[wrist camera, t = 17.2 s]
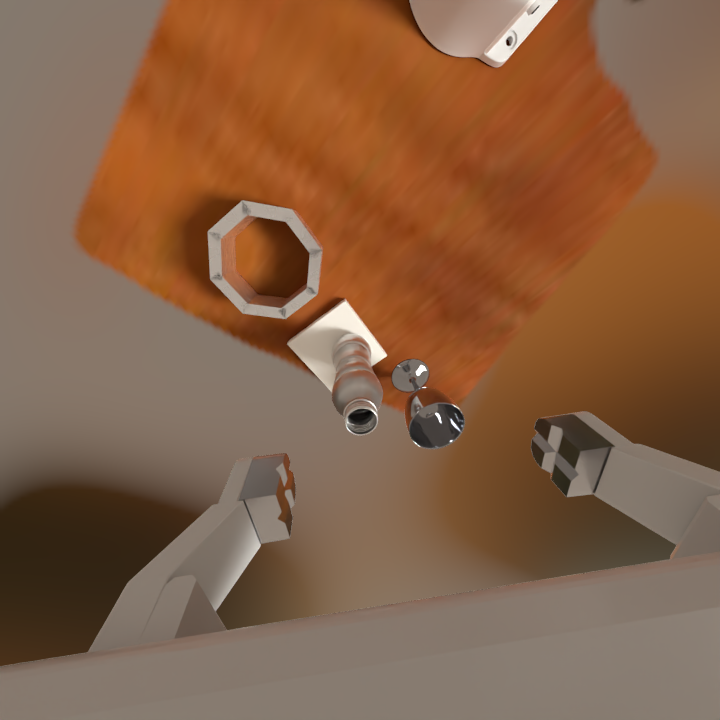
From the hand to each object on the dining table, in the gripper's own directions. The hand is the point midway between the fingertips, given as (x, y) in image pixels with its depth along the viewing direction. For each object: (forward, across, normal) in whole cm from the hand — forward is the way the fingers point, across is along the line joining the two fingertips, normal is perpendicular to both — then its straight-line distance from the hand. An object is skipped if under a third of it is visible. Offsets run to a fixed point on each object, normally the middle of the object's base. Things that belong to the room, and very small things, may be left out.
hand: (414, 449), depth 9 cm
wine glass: (+39, -9, +20) cm, 45 cm away
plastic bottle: (+38, +1, +12) cm, 40 cm away
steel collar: (+39, +11, -3) cm, 41 cm away
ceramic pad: (+39, +3, +12) cm, 41 cm away
